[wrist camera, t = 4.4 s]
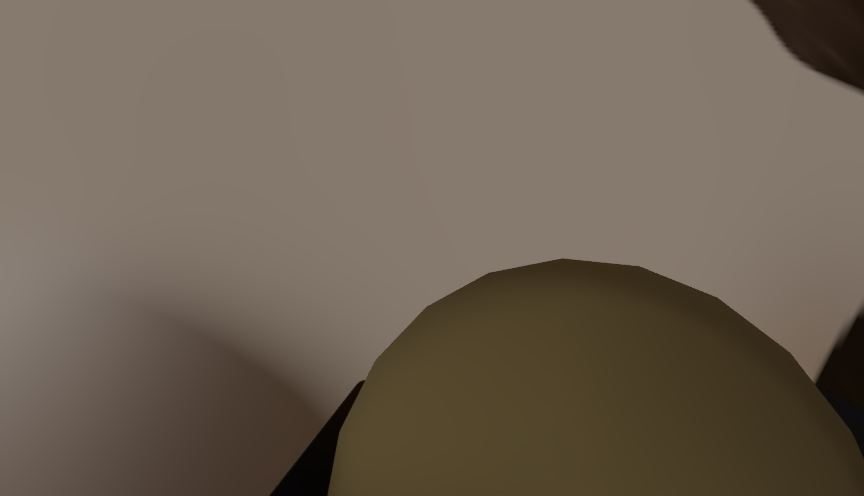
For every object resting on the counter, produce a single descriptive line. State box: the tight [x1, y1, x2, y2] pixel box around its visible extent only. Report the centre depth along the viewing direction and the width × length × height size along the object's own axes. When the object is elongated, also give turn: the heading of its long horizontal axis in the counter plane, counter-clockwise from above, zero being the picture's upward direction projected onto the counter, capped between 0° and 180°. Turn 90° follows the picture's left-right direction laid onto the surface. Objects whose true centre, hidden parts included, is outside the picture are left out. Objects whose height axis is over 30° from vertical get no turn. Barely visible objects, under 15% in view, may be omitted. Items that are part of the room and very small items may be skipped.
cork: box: [328, 259, 864, 496], centre depth 9 cm, size 6×6×11 cm
